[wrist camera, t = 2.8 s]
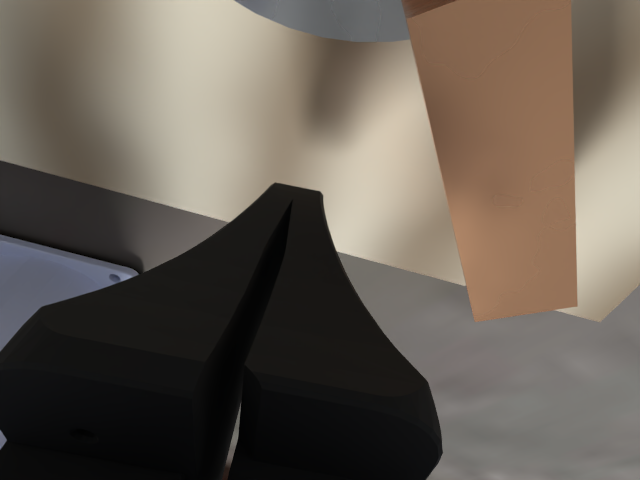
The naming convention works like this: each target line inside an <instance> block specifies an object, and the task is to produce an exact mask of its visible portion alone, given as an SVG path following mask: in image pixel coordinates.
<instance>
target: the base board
mask: <svg viewBox="0 0 640 480" xmlns="http://www.w3.org/2000/svg"><path fill="white" fill-rule="evenodd" d="M571 20H572V67H573V114H574V161H575V207H576V254H577V301H578V307H571V308H564V309H558V310H556V311H560V312H564V313H567V314H571V315H575V316H578V317H582V318H586V319H590V320H593V321H597V322H601V321H602V320H603V319H604V318H605V317H606V316H607V315H608V314H609V313H610V312H611V311H612V310H613V309H614V308H615V307H617V306H618V305H619V304H620V303H621V302H622V301H623V300H624V299H625V298H626V297H627V296H628V295H629V294H630V293H631V292H632V291H633V290H634V289H635V288H636V287H638V286H639V285H640V0H571ZM0 160H1V161H5V162H9V163H12V164H16V165H20V166H23V167H27V168H31V169H34V170H38V171H42V172H46V173H49V174H53V175H57V176H60V177H64V178H68V179H71V180H75V181H79V182H83V183H86V184H90V185H94V186H97V187H101V188H105V189H108V190H112V191H116V192H120V193H123V194H127V195H131V196H134V197H138V198H142V199H145V200H149V201H153V202H157V203H160V204H164V205H168V206H171V207H175V208H179V209H182V210H186V211H190V212H194V213H197V214H201V215H205V216H208V217H212V218H216V219H219V220H223V221H227V222H231V221H232V220H233V219H235V218H236V217H237V216H238V215H239V214H241V213H242V212H243V211H244V210H245V209H246V208H248V207H249V206H250V205H251V204H252V203H253V202H254V201H255V200H256V199H258V198H259V197H260V196H261V195H262V194H263V193H264V192H265V191H266V190H267V189H268V188H269V186H270V185H272V184H273V183H275V182H276V183H281V184H286V185H291V186H296V187H301V188H307V189H312V190H317V191H321V193H322V194H323V196H324V197H323V203H324V210H325V215H326V220H327V224H328V227H329V231H330V234H331V237H332V240H333V243H334V246H335V249H336V251H338V252H342V253H345V254H349V255H353V256H356V257H360V258H364V259H367V260H371V261H375V262H379V263H382V264H386V265H390V266H393V267H397V268H401V269H404V270H408V271H412V272H416V273H419V274H423V275H427V276H430V277H434V278H438V279H442V280H445V281H449V282H453V283H456V284H460V285H464V286H466V283H465V278H464V274H463V270H462V266H461V262H460V257H459V253H458V249H457V245H456V240H455V236H454V231H453V227H452V223H451V218H450V214H449V209H448V205H447V201H446V196H445V192H444V187H443V183H442V179H441V174H440V170H439V165H438V161H437V157H436V152H435V148H434V143H433V139H432V135H431V130H430V126H429V121H428V117H427V113H426V108H425V104H424V99H423V95H422V91H421V86H420V82H419V77H418V73H417V69H416V64H415V60H414V55H413V51H412V47H411V42H410V39H409V40H402V41H395V42H353V41H346V40H338V39H331V38H323V37H319V36H316V35H312V34H309V33H305V32H302V31H298V30H295V29H291V28H288V27H286V26H283V25H281V24H279V23H276V22H274V21H272V20H269V19H267V18H265V17H263V16H260V15H258V14H256V13H254V12H252V11H251V10H249V9H247V8H246V7H244V6H242V5H241V4H239V3H237V2H236V1H234V0H0Z"/></svg>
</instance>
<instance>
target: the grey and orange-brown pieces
mask: <svg viewBox="0 0 640 480" xmlns="http://www.w3.org/2000/svg"><path fill="white" fill-rule="evenodd" d="M234 1H236V2H237V3H239V4H241V5H242V6H244V7H246V8H247V9H249V10H251V11H252V12H254V13H256V14H258V15H260V16H263V17H265V18H267V19H269V20H272V21H274V22H276V23H279V24H281V25H283V26H286V27H288V28H291V29H295V30H298V31H302V32H305V33H309V34H312V35H316V36H319V37H323V38H331V39H338V40H346V41H353V42H395V41H402V40H409V39H410V42H411V47H412V51H413V55H414V60H415V64H416V69H417V73H418V77H419V82H420V86H421V91H422V95H423V99H424V104H425V108H426V113H427V117H428V121H429V126H430V130H431V135H432V139H433V143H434V148H435V152H436V157H437V161H438V165H439V170H440V174H441V179H442V183H443V187H444V192H445V196H446V201H447V205H448V209H449V214H450V218H451V223H452V227H453V231H454V236H455V240H456V245H457V249H458V253H459V257H460V262H461V266H462V270H463V274H464V278H465V283H466V287H467V291H468V295H469V299H470V304H471V308H472V312H473V316H474V320H475V322H478V321H485V320H492V319H498V318H505V317H511V316H518V315H525V314H531V313H538V312H545V311H551V310H558V309H564V308H571V307H578V301H577V254H576V207H575V161H574V114H573V67H572V20H571V0H234Z"/></svg>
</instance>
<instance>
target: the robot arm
mask: <svg viewBox="0 0 640 480" xmlns="http://www.w3.org/2000/svg"><path fill="white" fill-rule="evenodd" d="M323 197H324V196H323V194H322V193H321V191H317V190H312V189H307V188H301V187H296V186H291V185H286V184H281V183H276V182H275V183H273V184H272V185H270V186H269V188H268V189H267V190H266V191H265V192H264V193H263V194H262V195H261V196H260V197H259V198H258V199H256V200H255V201H254V202H253V203H252V204H251V205H250V206H249V207H248V208H246V209H245V210H244V211H243V212H242V213H241V214H239V215H238V216H237V217H236V218H235V219H233V220H232V221H231V222H230V223H228V224H227V225H225V226H224V227H223V228H221V229H220V230H219V231H217V232H216V233H215V234H213V235H212V236H210V237H209V238H207V239H206V240H204V241H203V242H201V243H200V244H198V245H197V246H195V247H193V248H192V249H190V250H188V251H186V252H185V253H183V254H181V255H179V256H178V257H176V258H174V259H171V260H169V261H167V262H165V263H163V264H161V265H159V266H157V267H155V268H153V269H151V270H149V271H146V272H144V273H142V274H138V272H137V271H135V270H134V269H131V268H128V267H124V266H120V265H116V264H112V263H109V262H105V261H101V260H97V259H93V258H89V257H85V256H81V255H78V254H74V253H70V252H66V251H62V250H58V249H54V248H50V247H47V246H43V245H39V244H35V243H31V242H27V241H23V240H19V239H16V238H12V237H8V236H4V235H0V480H222V476H223V472H224V468H225V464H226V460H227V456H228V451H229V447H230V443H231V439H232V435H233V431H234V427H235V423H236V419H237V415H238V411H239V407H240V403H241V413H240V425H239V437H238V441H237V445H236V449H235V453H234V456H233V460H232V464H231V468H230V471H229V476H228V480H426V479H427V477H428V476H429V475H430V473H431V472H432V471H433V469H434V468H435V467H436V466H437V464H438V463H439V460H440V458H441V456H442V454H443V451H442V437H441V430H440V424H439V420H438V416H437V412H436V408H435V404H434V400H433V397H432V394H431V390H430V387H429V384H428V382H427V380H426V379H425V378H424V377H423V376H422V375H421V374H420V373H419V372H418V371H417V370H416V369H415V368H414V367H413V366H412V365H411V364H410V363H409V361H408V360H407V359H406V358H405V357H404V356H403V355H402V354H401V353H400V352H399V351H398V350H397V349H396V348H395V346H394V345H393V344H392V343H391V342H390V340H389V339H388V338H387V337H386V335H385V334H384V333H383V331H382V330H381V329H380V327H379V326H378V324H377V323H376V322H375V320H374V319H373V317H372V316H371V314H370V313H369V312H368V310H367V309H366V307H365V306H364V304H363V303H362V301H361V299H360V298H359V296H358V294H357V293H356V291H355V289H354V287H353V285H352V284H351V282H350V280H349V278H348V276H347V274H346V272H345V270H344V268H343V265H342V263H341V261H340V258H339V256H338V254H337V251H336V249H335V246H334V243H333V240H332V237H331V234H330V231H329V227H328V224H327V220H326V215H325V210H324V203H323ZM117 275H118V276H117ZM241 400H242V401H241Z"/></svg>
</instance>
